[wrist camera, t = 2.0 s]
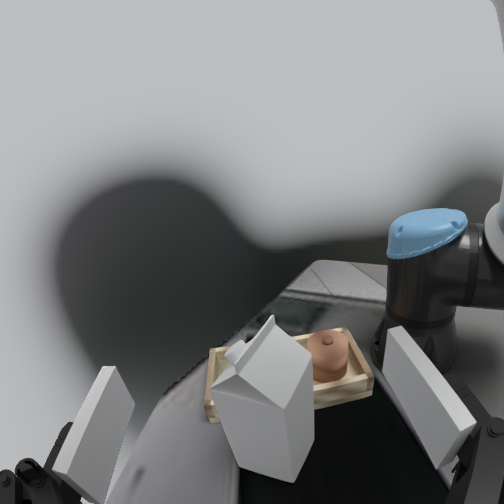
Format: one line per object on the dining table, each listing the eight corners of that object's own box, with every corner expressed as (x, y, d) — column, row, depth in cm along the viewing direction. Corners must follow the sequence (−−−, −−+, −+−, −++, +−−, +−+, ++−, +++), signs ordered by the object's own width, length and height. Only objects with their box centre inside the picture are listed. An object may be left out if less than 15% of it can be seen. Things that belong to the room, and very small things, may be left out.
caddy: (346, 344, 48) (346, 309, 46) (371, 395, 36) (377, 358, 33) (215, 366, 48) (205, 332, 46) (210, 423, 36) (196, 389, 33)
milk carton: (314, 439, 31) (310, 318, 25) (293, 484, 25) (279, 373, 19) (263, 428, 34) (239, 310, 28) (238, 467, 28) (196, 354, 22)
